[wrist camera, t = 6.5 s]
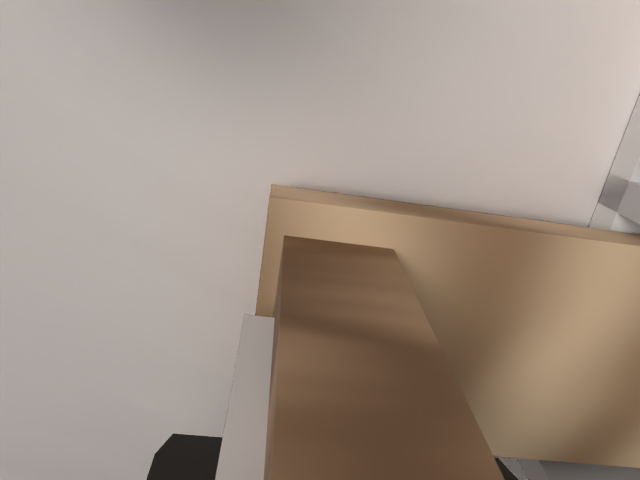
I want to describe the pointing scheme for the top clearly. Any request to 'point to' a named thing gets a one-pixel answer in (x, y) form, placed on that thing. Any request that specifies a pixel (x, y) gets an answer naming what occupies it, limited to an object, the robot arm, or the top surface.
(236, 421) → the robot arm
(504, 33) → the top surface
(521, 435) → the tan wooden l-shaped piece
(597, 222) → the board
